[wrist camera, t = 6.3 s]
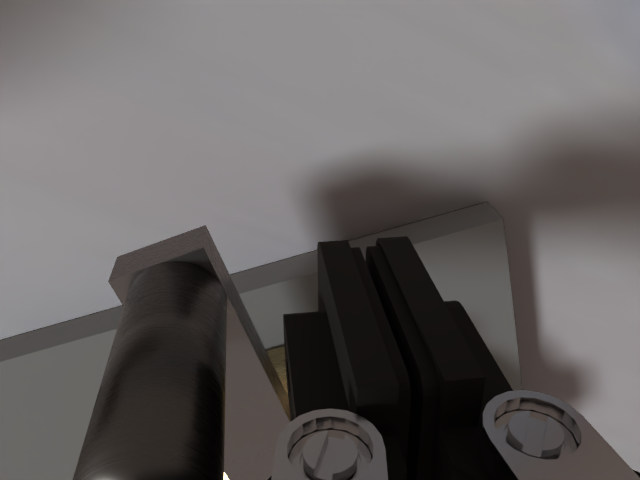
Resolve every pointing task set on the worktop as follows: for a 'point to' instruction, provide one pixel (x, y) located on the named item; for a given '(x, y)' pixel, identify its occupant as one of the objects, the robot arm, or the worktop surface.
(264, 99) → the worktop surface
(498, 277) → the base plate
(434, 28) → the worktop surface
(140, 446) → the gold domed lever dial
